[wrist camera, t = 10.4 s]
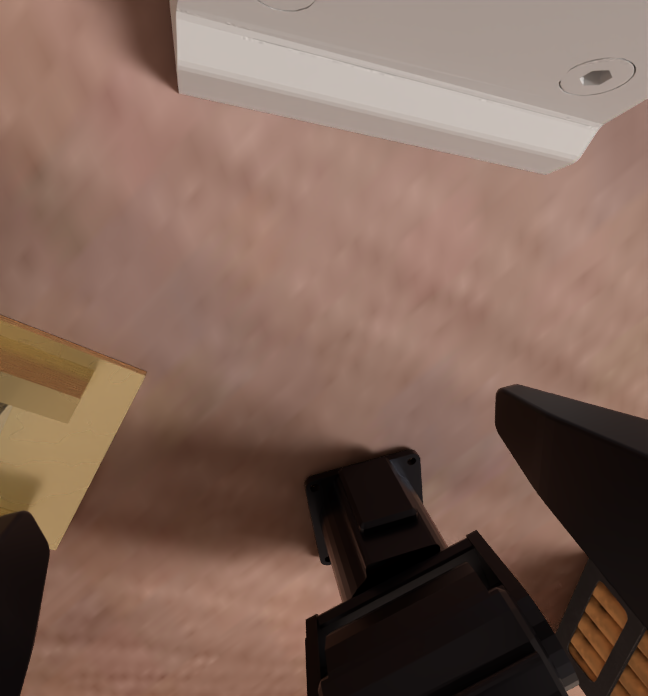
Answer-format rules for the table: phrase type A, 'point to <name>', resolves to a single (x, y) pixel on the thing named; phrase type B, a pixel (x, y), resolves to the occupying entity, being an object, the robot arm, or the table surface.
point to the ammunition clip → (604, 639)
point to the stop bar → (4, 414)
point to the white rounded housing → (425, 69)
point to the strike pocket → (56, 422)
